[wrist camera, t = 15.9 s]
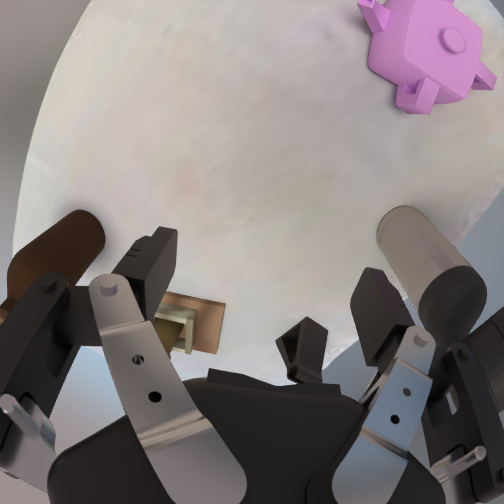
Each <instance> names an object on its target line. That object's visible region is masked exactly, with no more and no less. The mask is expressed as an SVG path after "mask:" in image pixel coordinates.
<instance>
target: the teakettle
mask: <svg viewBox="0 0 504 504" xmlns="http://www.w3.org/2000/svg"><path fill="white" fill-rule="evenodd" d="M453 1H454V0H387V2H386V3H385V5H384V6H382V5H381V4H379V3H378V2H376V1H375V0H358V2H357V5H358V6H359V8H360V10H361V12H362V14H363V16H364V18H365V20H366V22H367V24H368V26H369V28H370V30H371V32H372V33H373V35H372V39H371V44H370V48H369V54H368V66H369V68H370V69H371V70H372V71H374V72H375V73H377V74H379V75H380V76H382V77H384V78H386V79H387V80H389V81H391V82H393V83H394V84H396V85H398V87H397V97H396V107H398V108H399V109H401V110H403V111H405V112H406V113H408V114H430V112H431V109H432V107H433V104H446V103H452V102H456V101H460V100H463V99H465V98H466V96H467V95H468V93H469V91H470V88H472V89H473V90H494V86H495V83H496V79H497V77H496V76H495V75H494V74H493V73H492V72H491V71H490V70H489V69H488V68H487V67H485V66H484V65H483V64H482V63H481V62H480V61H479V59H480V53H481V46H482V32H481V29H480V28H479V27H478V26H477V25H476V24H475V23H474V22H473V21H471V20H470V19H469V18H468V17H467V16H465V15H464V14H463V13H462V12H460V11H459V10H458V9H456V8H455V7H454V6H452V3H453Z"/></svg>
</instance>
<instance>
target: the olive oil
mask: <svg viewBox="0 0 504 504" xmlns="http://www.w3.org/2000/svg"><path fill="white" fill-rule="evenodd" d="M104 244H105V235H104V231H103V228H102V226H101V224H100V223H99V221H98V220H97V219H96V218H95V217H94V216H93V215H92V214H90V213H88V212H86V211H83V210H76V211H73V212H71V213H70V214H68V215H67V216H66V217H64V218H63V219H61V220H60V221H59V222H57V223H56V224H55V225H53V226H52V227H50V228H49V229H48V230H46V231H45V232H44V233H42V234H41V235H40V236H38V237H37V238H35V239H34V240H33V241H31V242H30V243H29V244H27V245H26V246H25V247H23V248H22V249H21V250H20V251H19V252H17V253H16V255H15V256H14V257H13V259H12V261H11V263H10V265H9V268H8V272H7V299H6V300H5V301H4V302H3V303H2V304H1V305H0V325H1V324H2V322H3V321H4V319H5V318H6V316H7V315H8V314H9V312H10V311H11V310H12V308H13V307H14V306H15V304H16V303H17V302H18V300H19V299H20V298H21V297H22V295H23V294H24V293H25V291H26V290H27V289H28V288H29V286H30V285H31V284H32V283H33V282H34V280H35V279H36V278H38V277H39V276H41V275H43V274H45V273H49V272H57V273H61V274H63V275H64V276H65V277H66V278H67V281H68V286H75V285H76V284H77V282H78V281H79V279H80V278H81V277H82V275H83V274H84V272H85V271H86V270H87V268H88V267H89V266H90V264H91V263H92V262H93V261H94V259H95V258H96V257H97V256H98V255H99V253H100V252H101V251H102V249H103V247H104Z"/></svg>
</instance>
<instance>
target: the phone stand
mask: <svg viewBox="0 0 504 504" xmlns="http://www.w3.org/2000/svg"><path fill="white" fill-rule="evenodd" d="M327 335H328V330H326V329H325V328H323V327H322V326H320V325H318V324H317V323H315V322H314V321H312V320H311V319H309V318H308V317H305V318H304V319H303V320H302V321H300V322H299V323H298V324H296V325H295V326H294V327H293V328H291V330H289V331H287V332H286V333H285V334H283V335H282V336H281V337H279V338H278V339H277V340H276V341H275V342H276V345H277V347H278V349H279V351H280V354H281V356H282V358H283V360H284V363H285V365H286V367H287V378H288V379H289V380H291V381H293V382H295V383H297V384H302V383H309V382H311V383H322V376H321V371H322V366H323V360H324V354H325V348H326V341H327Z"/></svg>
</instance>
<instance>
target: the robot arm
mask: <svg viewBox="0 0 504 504" xmlns="http://www.w3.org/2000/svg"><path fill="white" fill-rule="evenodd" d="M177 237H178V231H177V229H172V228H166V227H161V226H159V227H158V228H157V230H156V231H155V232H154V234H153V235H152V237H150V236H144V237H142V238H140V239H138V240H136V241H135V242H134V244H133V245H132V246H131V248H130V249H129V250H128V251H127V253H126V255H124V257H123V258H122V259H121V260H120V262H119V263H118V264H117V266H116V267H115V268H114V270H113V271H112V272H111V274H103V275H100V276H98V277H96V278H94V279H93V280H92V281H91V283H90V285H89V286H68V281H67V278H66V277H65V276H64V275H63V274H61V273H57V272H49V273H45V274H43V275H41V276H39V277H38V278H36V279H35V280H34V282H33V283H32V284H31V285H30V286H29V288H28V289H27V290H26V291H25V293H24V294H23V295H22V297H21V298H20V299H19V300H18V302H17V303H16V304H15V306H14V307H13V308H12V310H11V311H10V312H9V314H8V315H7V316H6V318H5V319H4V321H3V322H2V324H1V325H0V471H2V472H4V473H6V474H7V475H9V476H11V477H13V478H15V479H21V480H23V481H25V482H27V483H28V484H30V485H32V486H34V487H36V488H38V489H40V490H42V491H43V492H45V493H48V496H49V500H50V504H485V503H487V502H489V501H491V500H493V499H495V498H497V497H499V496H500V495H502V494H504V430H503V426H502V423H501V420H500V418H499V414H498V413H499V412H501V411H503V410H504V307H502V308H501V309H500V310H498V311H497V312H496V313H495V314H494V315H492V316H491V317H490V318H489V319H488V320H487V321H485V322H484V323H483V324H482V325H480V326H479V327H478V328H477V329H476V330H474V331H473V332H472V333H470V331H471V329H472V327H473V326H474V324H475V323H476V321H477V320H478V318H479V317H480V315H481V313H482V311H483V309H484V306H485V303H486V299H487V288H486V285H485V283H484V281H483V279H482V278H481V277H480V275H479V274H478V273H477V272H476V271H475V270H474V268H473V267H472V266H471V265H470V264H469V263H468V262H467V260H466V259H465V258H464V257H463V256H462V255H461V254H460V253H459V252H458V250H457V249H456V248H455V247H454V246H453V245H452V244H451V243H450V242H449V241H448V240H447V239H446V238H445V237H444V236H443V235H442V234H441V233H440V232H439V231H438V229H437V228H436V227H435V226H434V225H433V224H432V223H431V222H430V221H429V220H428V219H427V218H426V217H425V216H423V215H422V214H421V213H420V212H419V211H418V210H417V209H415V208H413V207H410V206H402V207H398V208H395V209H393V210H392V211H390V212H389V213H388V214H387V215H385V217H384V218H383V219H382V221H381V222H380V224H379V227H378V230H377V242H378V244H379V247H380V248H381V250H382V252H383V253H384V255H385V257H386V258H387V260H388V262H389V264H390V265H391V267H392V269H393V270H394V272H395V274H396V276H397V277H398V279H399V281H400V283H401V284H402V286H403V288H404V290H405V292H406V293H407V295H408V297H409V299H410V301H411V303H412V304H413V306H414V308H415V310H416V312H417V314H418V316H419V318H420V320H421V322H422V324H423V326H424V327H425V329H426V330H425V329H423V328H421V327H418V326H415V324H414V322H413V319H412V317H411V316H410V313H409V311H408V309H407V307H405V303H404V301H403V300H402V297H401V295H400V293H399V292H398V290H397V289H396V288H395V287H394V286H393V285H392V284H391V283H390V282H389V280H388V279H387V277H386V275H385V273H384V271H383V270H379V269H374V268H369V267H367V268H365V269H364V271H363V273H362V275H361V277H360V280H359V282H358V284H357V286H356V288H355V290H354V292H353V295H352V297H351V302H350V308H351V312H352V315H353V319H354V322H355V326H356V329H357V333H358V336H359V340H360V343H361V347H362V351H363V354H364V358H365V362H366V365H367V366H374V367H378V370H377V372H376V373H375V375H374V376H373V378H372V380H371V381H370V383H369V385H368V386H367V388H366V390H365V392H364V393H363V395H362V396H361V398H360V399H359V401H358V402H357V401H356V400H354V399H352V398H350V397H347V396H345V395H342V394H341V390H340V385H339V384H324V383H311V382H309V383H302V384H294V385H286V386H275V385H271V384H269V383H266V382H263V381H260V380H257V379H255V378H252V377H249V376H246V375H244V374H239V373H233V372H227V371H221V370H216V369H211V368H209V371H208V376H207V378H194V379H189V380H185V381H181V379H180V377H179V376H178V374H177V372H176V370H175V368H174V366H173V365H172V363H171V361H170V359H169V357H168V355H167V353H166V351H165V349H164V347H163V345H162V343H161V341H160V339H159V337H158V335H157V333H156V331H155V329H154V327H153V325H152V321H153V318H154V316H155V314H156V312H157V309H158V307H159V305H160V303H161V301H162V298H163V296H164V294H165V292H166V290H167V288H168V285H169V283H170V281H171V279H172V277H173V274H174V271H175V266H176V253H177ZM469 333H470V334H469ZM81 346H102V348H103V351H104V355H105V358H106V361H107V364H108V367H109V370H110V373H111V376H112V379H113V382H114V385H115V387H116V390H117V393H118V395H119V398H120V400H121V403H122V406H123V409H124V411H125V413H126V415H124V416H123V417H121V418H120V419H118V420H116V421H115V422H113V423H111V424H110V425H108V426H106V427H105V428H103V429H101V430H100V431H98V432H96V433H95V434H93V435H91V436H89V437H88V438H86V439H84V440H82V441H81V442H79V443H77V444H75V445H73V446H72V447H70V448H68V449H66V450H64V451H63V452H62V453H61V454H59V456H58V457H57V456H56V453H55V448H54V447H55V446H54V444H55V438H56V434H55V429H54V426H53V424H52V423H51V421H50V420H49V417H50V415H51V412H52V409H53V407H54V405H55V402H56V400H57V397H58V394H59V393H60V390H61V388H62V385H63V383H64V381H65V379H66V376H67V374H68V372H69V370H70V368H71V365H72V363H73V361H74V359H75V357H76V355H77V353H78V351H79V349H80V347H81ZM448 392H450V394H451V397H452V400H453V402H454V404H455V407H456V409H457V411H456V413H455V414H453V415H452V413H451V410H450V406H449V403H448V400H447V397H446V395H447V394H448ZM420 419H421V421H422V426H423V431H424V436H425V440H426V445H427V450H428V456H429V462H430V468H431V469H430V472H429V471H428V470H427V469H426V468H425V467H424V466H423V465H422V464H421V463H420V462H419V461H418V460H417V459H416V458H415V457H414V456H413V455H412V454H411V453H410V452H409V451H408V449H409V447H410V444H411V442H412V439H413V437H414V434H415V432H416V429H417V427H418V424H419V421H420Z"/></svg>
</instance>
